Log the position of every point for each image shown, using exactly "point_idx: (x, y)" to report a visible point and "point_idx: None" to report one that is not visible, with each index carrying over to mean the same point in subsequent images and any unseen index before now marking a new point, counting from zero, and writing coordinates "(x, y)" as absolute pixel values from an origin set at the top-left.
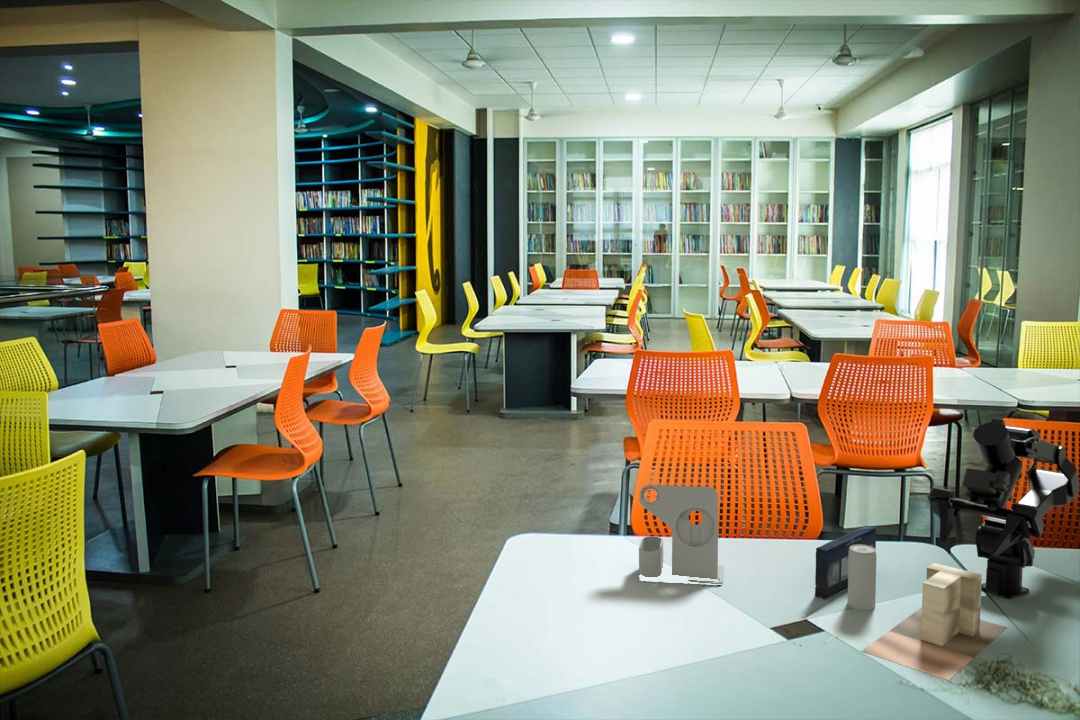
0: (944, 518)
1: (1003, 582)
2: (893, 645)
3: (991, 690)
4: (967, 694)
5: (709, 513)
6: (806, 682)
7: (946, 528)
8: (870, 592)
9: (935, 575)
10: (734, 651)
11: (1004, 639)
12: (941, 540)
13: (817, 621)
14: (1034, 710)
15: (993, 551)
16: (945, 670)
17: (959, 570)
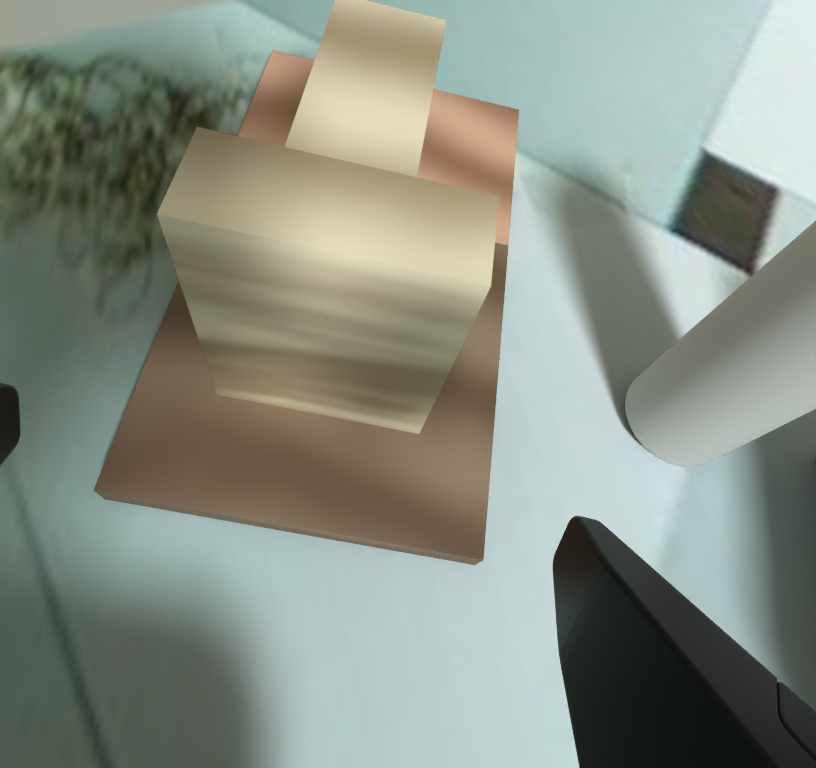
0: (800, 754)
1: None
2: (459, 165)
3: (164, 92)
4: (224, 59)
5: None
6: (556, 8)
7: (635, 662)
8: (678, 343)
9: (419, 111)
10: (746, 66)
11: None
12: (574, 518)
13: (719, 276)
14: (53, 43)
15: (2, 387)
16: (289, 88)
17: (309, 223)
